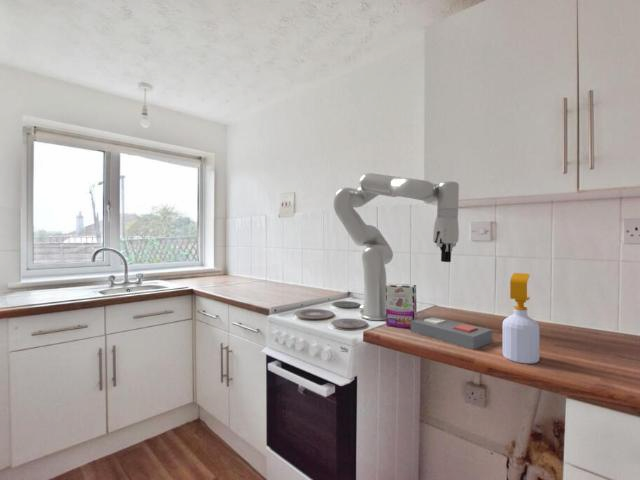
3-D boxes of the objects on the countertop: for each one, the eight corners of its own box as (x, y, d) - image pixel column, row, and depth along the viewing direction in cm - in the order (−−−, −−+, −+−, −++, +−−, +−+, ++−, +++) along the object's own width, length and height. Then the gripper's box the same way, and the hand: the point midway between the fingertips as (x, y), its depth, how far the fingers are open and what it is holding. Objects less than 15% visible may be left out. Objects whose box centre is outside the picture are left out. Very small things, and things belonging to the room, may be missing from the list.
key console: (410, 331, 122) (410, 320, 122) (430, 325, 129) (430, 315, 129) (473, 349, 103) (473, 336, 103) (492, 341, 110) (492, 329, 110)
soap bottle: (541, 357, 96) (541, 273, 95) (535, 367, 89) (536, 276, 89) (506, 350, 102) (506, 271, 101) (499, 358, 95) (499, 274, 95)
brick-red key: (453, 333, 112) (453, 326, 112) (462, 330, 115) (462, 324, 115) (468, 337, 107) (468, 330, 107) (477, 334, 111) (477, 327, 111)
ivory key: (423, 325, 121) (423, 319, 121) (432, 323, 125) (432, 317, 125) (436, 329, 117) (436, 322, 117) (445, 326, 120) (445, 320, 120)
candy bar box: (417, 326, 129) (416, 284, 129) (414, 329, 125) (414, 286, 124) (389, 322, 134) (388, 282, 134) (385, 325, 130) (385, 284, 130)
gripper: (450, 215, 134) (449, 260, 135) (426, 213, 125) (425, 261, 126) (467, 214, 128) (466, 261, 128) (443, 213, 119) (442, 263, 120)
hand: (445, 261), depth 127 cm, fingers closed
